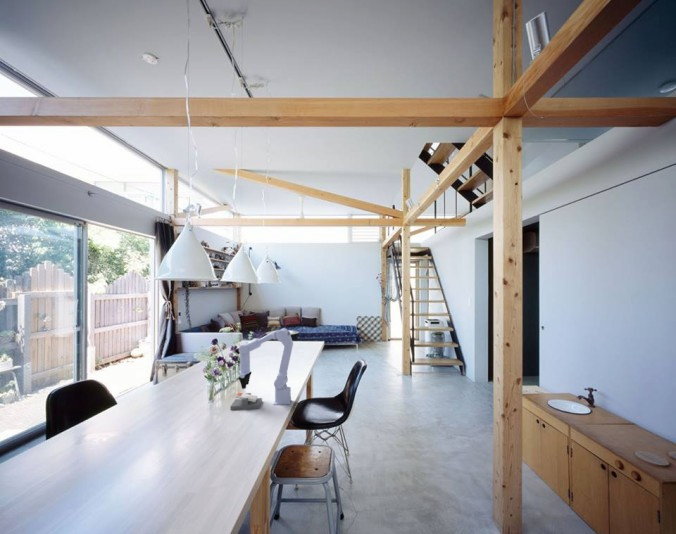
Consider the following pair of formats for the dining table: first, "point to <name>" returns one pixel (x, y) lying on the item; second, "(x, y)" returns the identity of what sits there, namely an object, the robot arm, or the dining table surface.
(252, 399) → the block
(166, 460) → the dining table surface
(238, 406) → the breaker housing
